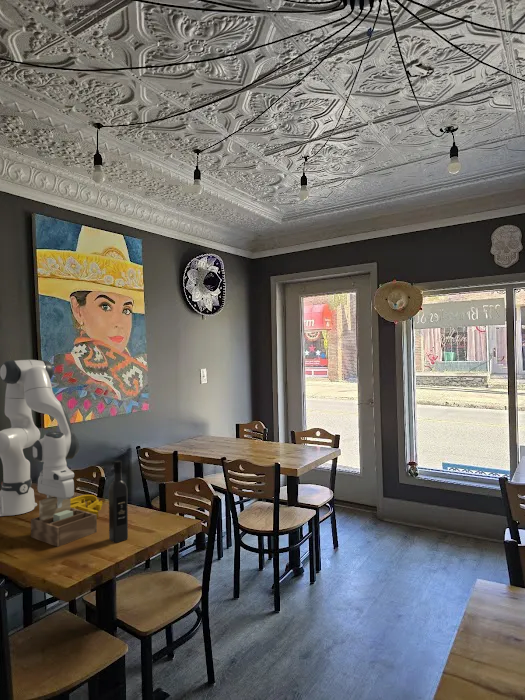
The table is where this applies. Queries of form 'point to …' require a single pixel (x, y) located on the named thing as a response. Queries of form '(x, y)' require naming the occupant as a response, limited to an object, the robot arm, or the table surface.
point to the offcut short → (62, 515)
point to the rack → (64, 528)
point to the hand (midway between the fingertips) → (55, 506)
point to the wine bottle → (118, 506)
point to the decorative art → (81, 505)
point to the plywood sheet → (51, 507)
